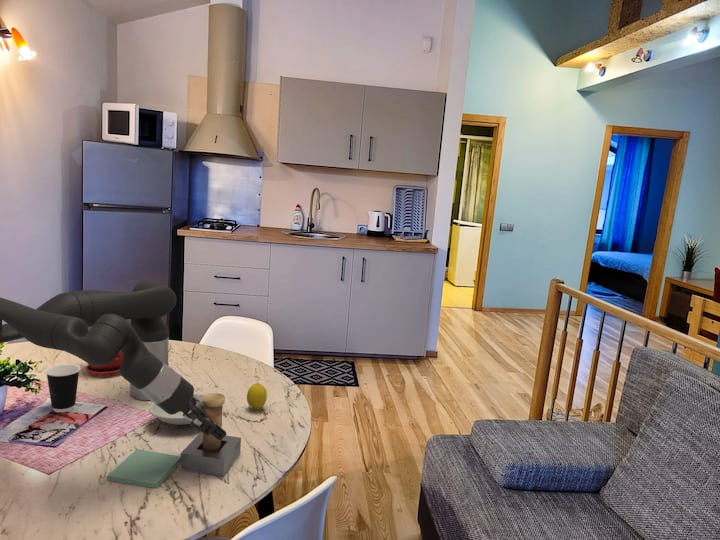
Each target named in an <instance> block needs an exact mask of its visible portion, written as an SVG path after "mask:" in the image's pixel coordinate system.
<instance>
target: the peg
mask: <svg viewBox="0 0 720 540" xmlns="http://www.w3.org/2000/svg"><path fill="white" fill-rule="evenodd" d="M225 401H226V397H225V395H224V394H222V393H219V392H210V393H207V394H205V395H204V396H203V401H202V403H203V405H204V410H205V411H206V412H207V413H208V414H209V418H210V419H212V420H213V421H214V422H215V423H216V424H217V425H218V426H220V427H221V428H222V426H223V406H224V405H225V404H226V402H225ZM204 416H205V415H204ZM222 429H223V428H222ZM202 450H205V451H211V452H217V453H219V451H220V450H221V440H218V439H217V438H215V437H214V436H213V435H212V434H210V433H209V435H206V434H204V433H203V449H202Z"/></svg>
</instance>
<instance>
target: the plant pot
mask: <svg viewBox="0 0 720 540" xmlns="http://www.w3.org/2000/svg"><path fill="white" fill-rule="evenodd" d="M122 359H123V353H122V351H121V350H120V351H119V353H118V354H117V355H116V357H115V358H114V359H113V361H112V362H110V363H109V364H107V365H103V366H93V365H91V364H89V363H87V366H86V368H85V369H86V372H87V373H89V375H92V376H95V377H113V376H116V375H120V373H119V368H120V365H121V362H122Z"/></svg>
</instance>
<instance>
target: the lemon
mask: <svg viewBox="0 0 720 540" xmlns="http://www.w3.org/2000/svg"><path fill="white" fill-rule="evenodd" d="M267 392H268V391H267V388H266V387H265V386H264V385H263V384H261V383H259V382H256V383H254V384H252V385H251V386H250V387H249V388H248V390H247V394H246V401H247V403H248V405H249V407H250V408H253V409H254V410H258V409H261V408H262V407H263V406H265V404H266V402H267V399H268V394H267Z"/></svg>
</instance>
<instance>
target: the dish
mask: <svg viewBox="0 0 720 540" xmlns="http://www.w3.org/2000/svg"><path fill="white" fill-rule="evenodd" d="M193 395H194V396H195V397H197V398H198V399H199V400H200V401H201V402H202V401H203V396H204V395H206V394H204V393H194V394H193ZM148 413H150V414H151V415H152V416H154V417H156V418H158V419H159V420H160V421H162V422H163V423H167V424H170V425H177V426H179V425H180V426H181V425H191V424H190V423H191V421H190V420H187V419H186V418H185V417H184V416H183V414H184V413H183V412H178V413H176V414H173V415H170V414H168V413H166V412H165V411H164V410H162V409H161V408H160V407H159V406H157V405H156V404H155V403H153V402H152V403H151V404H149V406H148Z"/></svg>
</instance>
